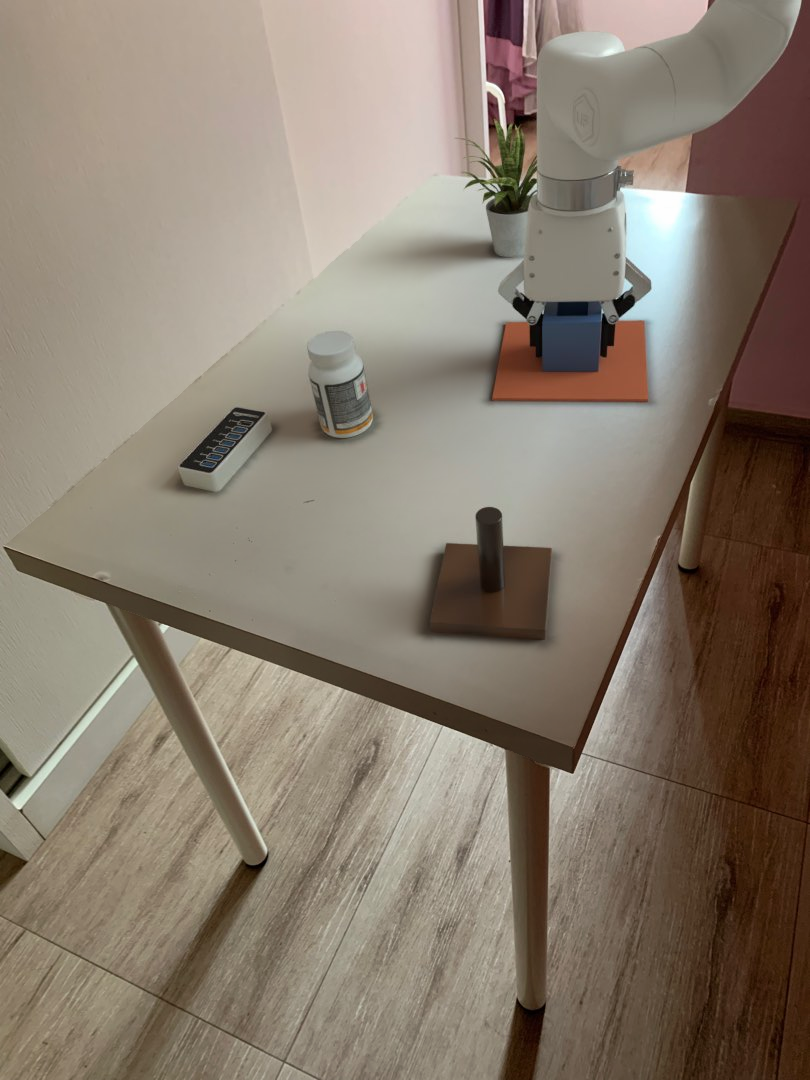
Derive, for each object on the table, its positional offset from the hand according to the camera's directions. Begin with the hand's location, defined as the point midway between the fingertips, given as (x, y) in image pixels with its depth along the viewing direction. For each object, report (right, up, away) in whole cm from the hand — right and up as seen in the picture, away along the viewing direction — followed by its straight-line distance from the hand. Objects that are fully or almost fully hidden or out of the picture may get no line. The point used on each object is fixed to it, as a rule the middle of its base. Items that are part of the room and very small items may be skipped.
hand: (571, 349), depth 89 cm
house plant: (-4, +20, +24) cm, 31 cm away
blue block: (0, -1, +1) cm, 1 cm away
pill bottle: (-25, -9, -3) cm, 26 cm away
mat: (0, -1, +1) cm, 1 cm away
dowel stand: (-11, -25, -23) cm, 36 cm away
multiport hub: (-37, -12, -5) cm, 39 cm away
